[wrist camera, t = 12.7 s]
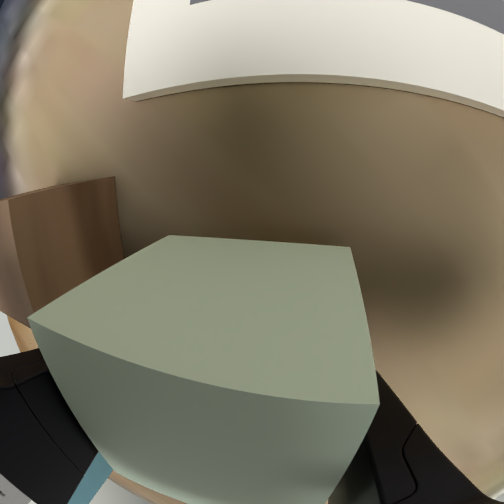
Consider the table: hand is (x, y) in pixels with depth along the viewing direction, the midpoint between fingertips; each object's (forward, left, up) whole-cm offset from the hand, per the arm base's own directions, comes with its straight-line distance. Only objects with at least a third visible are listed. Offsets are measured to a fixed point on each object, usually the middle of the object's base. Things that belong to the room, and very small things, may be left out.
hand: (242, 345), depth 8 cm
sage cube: (0, 0, -1) cm, 1 cm away
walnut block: (+10, -2, -4) cm, 11 cm away
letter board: (-4, -18, -4) cm, 19 cm away
